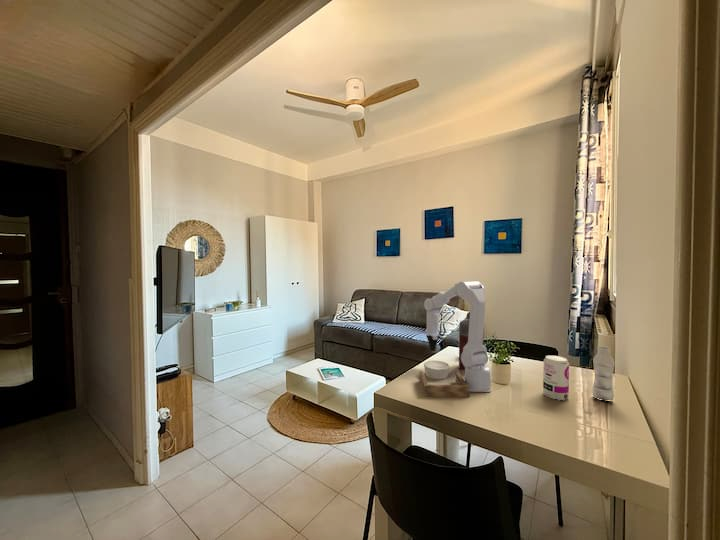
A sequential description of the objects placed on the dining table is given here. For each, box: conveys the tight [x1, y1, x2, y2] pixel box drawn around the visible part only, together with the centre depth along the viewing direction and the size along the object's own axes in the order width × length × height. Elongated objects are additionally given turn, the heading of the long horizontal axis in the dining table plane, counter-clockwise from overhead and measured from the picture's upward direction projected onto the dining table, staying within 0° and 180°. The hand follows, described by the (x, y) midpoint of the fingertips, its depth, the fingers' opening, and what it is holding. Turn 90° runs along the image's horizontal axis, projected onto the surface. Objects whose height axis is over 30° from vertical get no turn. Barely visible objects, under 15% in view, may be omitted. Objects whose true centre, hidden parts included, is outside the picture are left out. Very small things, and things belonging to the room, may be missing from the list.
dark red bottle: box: [458, 311, 485, 372], centre depth 146 cm, size 9×11×28 cm
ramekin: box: [423, 360, 450, 380], centre depth 137 cm, size 11×11×5 cm
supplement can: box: [542, 354, 570, 401], centre depth 116 cm, size 8×8×15 cm
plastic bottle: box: [591, 345, 616, 401], centre depth 113 cm, size 6×7×20 cm
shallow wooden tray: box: [419, 371, 470, 398], centre depth 124 cm, size 17×14×4 cm
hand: (432, 350), depth 148 cm, fingers closed
